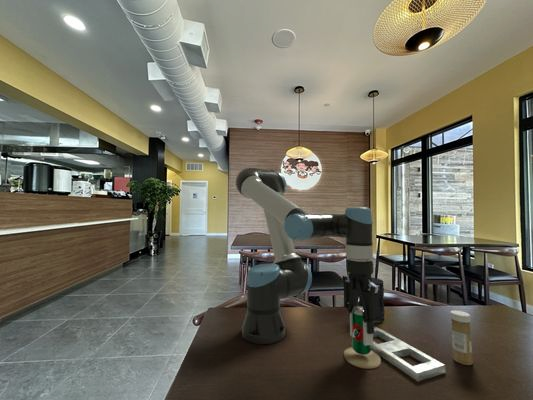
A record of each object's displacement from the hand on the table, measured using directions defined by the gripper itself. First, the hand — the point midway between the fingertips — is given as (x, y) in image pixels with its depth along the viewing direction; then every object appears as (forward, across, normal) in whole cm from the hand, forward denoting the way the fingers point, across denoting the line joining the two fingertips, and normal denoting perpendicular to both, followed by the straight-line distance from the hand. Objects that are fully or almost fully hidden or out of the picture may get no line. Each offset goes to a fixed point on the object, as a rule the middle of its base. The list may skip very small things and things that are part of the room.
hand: (361, 339), depth 72 cm
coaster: (+5, 0, 0) cm, 5 cm away
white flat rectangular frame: (+5, -1, -11) cm, 12 cm away
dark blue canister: (+6, +22, -24) cm, 33 cm away
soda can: (+3, 0, 0) cm, 3 cm away
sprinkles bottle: (+5, -11, -26) cm, 29 cm away
